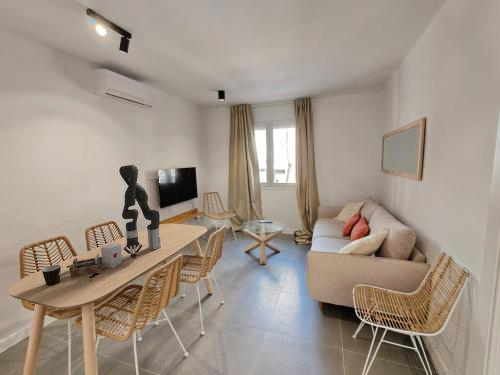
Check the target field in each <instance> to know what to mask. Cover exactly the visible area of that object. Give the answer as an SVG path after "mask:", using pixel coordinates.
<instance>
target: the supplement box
mask: <svg viewBox="0 0 500 375" xmlns="http://www.w3.org/2000/svg"><path fill="white" fill-rule="evenodd" d="M122 254H123V253H122V243H120V242H110V243H107V244H105V245H102V246H101V247H100V255H101V256H100V257H102V264H103V263H104V264H105V269H108V268H109V269H114V268H116V267H118V266H120V265H121V264H123V255H122Z"/></svg>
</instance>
